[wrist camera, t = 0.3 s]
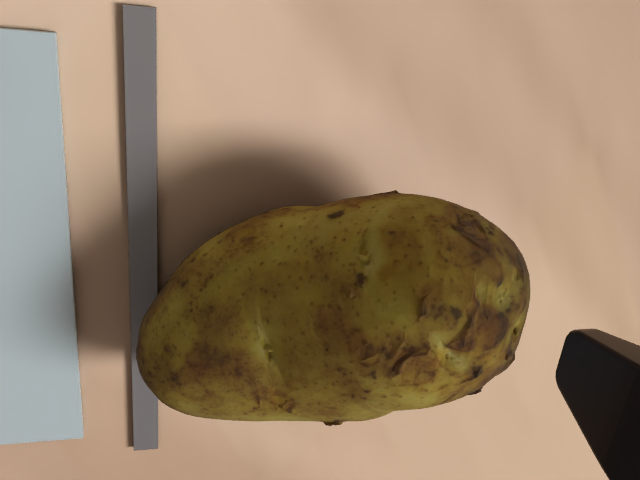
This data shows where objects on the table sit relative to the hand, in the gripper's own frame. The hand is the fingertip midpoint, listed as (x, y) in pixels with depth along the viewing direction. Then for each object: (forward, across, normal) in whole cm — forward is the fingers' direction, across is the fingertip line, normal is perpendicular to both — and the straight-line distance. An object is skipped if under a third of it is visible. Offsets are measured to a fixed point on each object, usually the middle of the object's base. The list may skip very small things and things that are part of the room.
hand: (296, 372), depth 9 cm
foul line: (+14, +3, +5) cm, 15 cm away
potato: (+14, -3, +5) cm, 15 cm away
